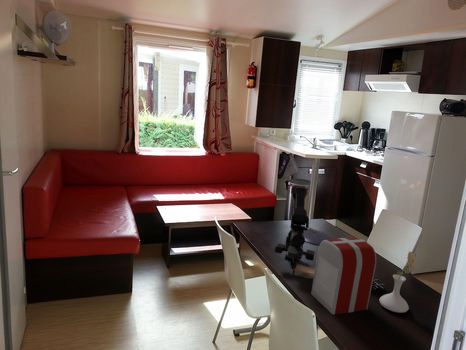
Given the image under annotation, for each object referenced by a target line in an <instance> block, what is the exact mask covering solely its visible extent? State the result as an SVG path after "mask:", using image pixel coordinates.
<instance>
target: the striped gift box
mask: <svg viewBox="0 0 466 350" xmlns="http://www.w3.org/2000/svg"><path fill="white" fill-rule="evenodd" d="M376 266H377V253H376V250H375V248H374V246H372V245H371V244H370V243H368V242H367V241H366V240H364V239H361V238H359V237H347V238H345V237H340V238H336V239H330V240H323V241H322V242H321V244H320V245H319V246H318V249H317V255H316V261H315V267H314V268H315V272H314V279H312V286H311V292H310V294H311V296H313V297H314V298H315V299H316V300H317V301H318V302H319V303H320V304H321V305H322V306H323V307H324V308H325V309H326V310H327V311H328V312H329V313H330V314H331V315H341V314H346V313H347V314H349V313H354V312H359V311H366V310H368V308H369V302H370V298H371V291H372V287H373V281H374V276H375V271H376Z"/></svg>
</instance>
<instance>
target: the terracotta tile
mask: <svg viewBox="0 0 466 350" xmlns="http://www.w3.org/2000/svg"><path fill="white" fill-rule="evenodd" d="M294 269H295V270H294V272H295V271H296V272H300V273H305V274H309V275H313V276H314V272H315V269H313V268H309V267H304V266H300V265H297V264H296V265H295V268H294Z"/></svg>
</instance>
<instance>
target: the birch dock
mask: <svg viewBox="0 0 466 350" xmlns="http://www.w3.org/2000/svg"><path fill="white" fill-rule="evenodd" d="M297 265H300V266H304V267H309V268H313V269H315V267H313V266H309V265H304V264H301V263H300V264H299V263H296V266H297ZM293 276H297V277H302V278H305V279H310V280H313V279H314V276H313V275H309V274H305V273H300V272H296V271H295V270H294V274H293Z"/></svg>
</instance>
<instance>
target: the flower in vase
mask: <svg viewBox="0 0 466 350" xmlns="http://www.w3.org/2000/svg"><path fill="white" fill-rule="evenodd" d="M408 251H409V250H408ZM406 259H407V262H406V264H405V265H404V266H403V268H402V270H401V271H400V270H398V271H397V272H396V273H397V274H393V275H392V277H393V280H394V285H393V286H394V287H393V291H392V292H390V293H386V294H383V295H382V296H380V298H379V303H380V305H381V306H382V307H384V308H385V309H387V310H389V311H391V312H394V313H399V314H401V313H402V314H403V313H406V312H407V311H409V309H410V308H409V307H410V306H409V305H408V303H407V301H406V299H404V298H403V296H401V294H400V291H401V287H402V284H403V283H404V282H405V281H406V280H407V278H406V277H405V276H403V275H404V273H405V274H408V273H409V272H410V271H414V272H416V271H417V270H418V262H419V261H417V257H416V255H414V252H413V251H409V252H408V253H407V257H406ZM407 265H408V266H409V268H410V269H409V268H408V267H407ZM403 272H404V273H403Z"/></svg>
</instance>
